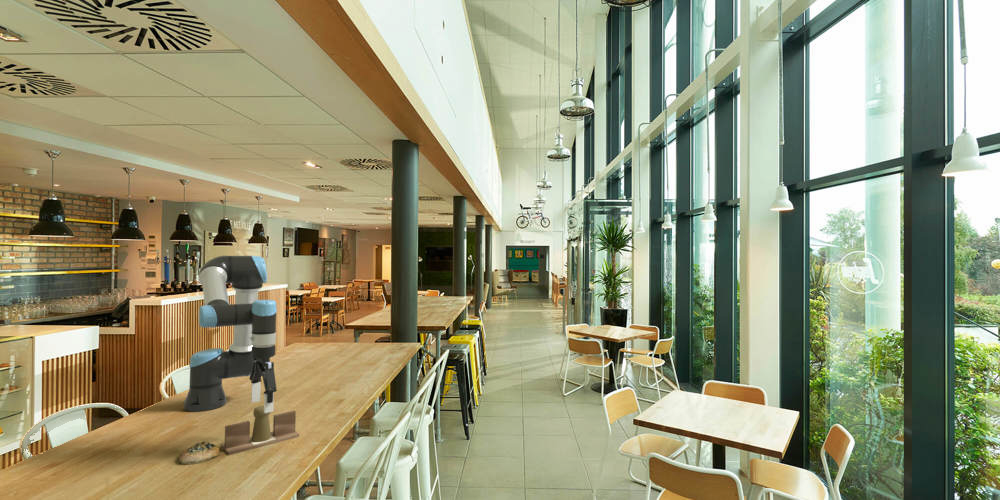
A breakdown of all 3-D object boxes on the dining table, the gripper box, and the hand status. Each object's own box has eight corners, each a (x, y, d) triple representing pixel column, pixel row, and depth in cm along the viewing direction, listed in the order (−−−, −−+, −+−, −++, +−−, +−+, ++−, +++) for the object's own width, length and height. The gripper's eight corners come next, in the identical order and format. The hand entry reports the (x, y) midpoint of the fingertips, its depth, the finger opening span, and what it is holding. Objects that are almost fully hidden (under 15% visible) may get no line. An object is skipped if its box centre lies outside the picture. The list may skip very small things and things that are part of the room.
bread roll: (194, 448, 149) (196, 434, 149) (227, 454, 148) (229, 439, 148) (168, 465, 138) (170, 449, 138) (203, 471, 137) (205, 455, 137)
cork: (275, 436, 157) (275, 404, 158) (260, 443, 152) (261, 410, 152) (261, 434, 159) (262, 402, 160) (247, 440, 154) (247, 408, 154)
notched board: (221, 446, 151) (222, 423, 151) (289, 429, 166) (290, 408, 166) (228, 455, 144) (229, 430, 145) (299, 436, 160) (299, 414, 160)
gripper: (240, 340, 162) (239, 399, 162) (263, 353, 144) (262, 419, 144) (263, 338, 168) (261, 395, 167) (288, 349, 150) (286, 413, 150)
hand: (262, 406), depth 156 cm, fingers open, 13 cm apart
